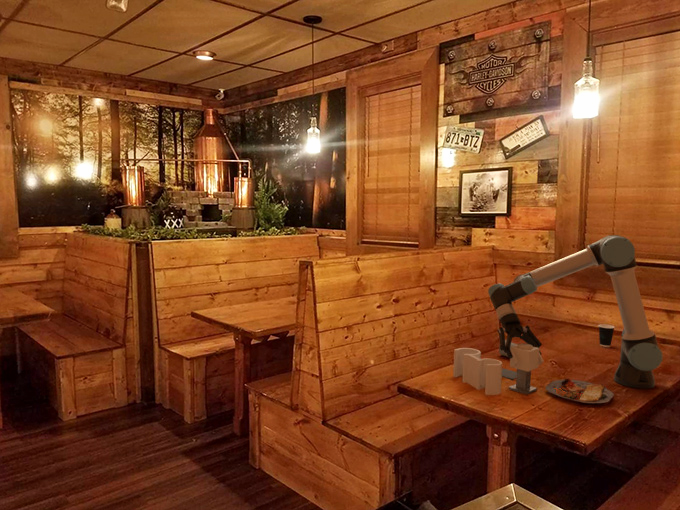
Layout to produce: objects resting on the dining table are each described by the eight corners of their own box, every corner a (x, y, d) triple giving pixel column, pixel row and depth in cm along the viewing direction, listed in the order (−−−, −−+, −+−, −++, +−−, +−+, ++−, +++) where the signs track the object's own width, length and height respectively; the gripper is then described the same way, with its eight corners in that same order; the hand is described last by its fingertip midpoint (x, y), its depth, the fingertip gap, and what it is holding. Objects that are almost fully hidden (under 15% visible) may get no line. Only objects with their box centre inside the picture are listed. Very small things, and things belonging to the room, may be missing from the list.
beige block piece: (538, 367, 209) (539, 345, 208) (528, 371, 204) (529, 349, 203) (519, 362, 215) (521, 341, 214) (509, 366, 210) (510, 344, 209)
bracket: (506, 393, 206) (508, 363, 205) (486, 396, 203) (487, 365, 201) (470, 373, 229) (471, 347, 228) (451, 375, 226) (452, 348, 225)
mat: (524, 375, 229) (524, 374, 229) (512, 379, 222) (512, 378, 222) (503, 369, 236) (503, 368, 236) (491, 373, 230) (491, 372, 230)
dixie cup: (596, 346, 279) (598, 326, 278) (597, 343, 286) (598, 323, 285) (613, 348, 276) (614, 328, 275) (613, 345, 283) (614, 325, 282)
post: (537, 390, 210) (538, 363, 209) (527, 394, 205) (528, 367, 204) (518, 385, 216) (520, 359, 215) (508, 389, 211) (510, 362, 209)
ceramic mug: (511, 360, 251) (512, 344, 250) (497, 356, 257) (498, 340, 257) (525, 357, 256) (526, 342, 256) (511, 353, 263) (512, 338, 262)
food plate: (558, 379, 223) (559, 371, 223) (618, 393, 209) (619, 385, 208) (538, 397, 204) (539, 388, 204) (603, 413, 190) (604, 404, 189)
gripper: (527, 320, 226) (549, 366, 212) (480, 323, 220) (498, 370, 206) (536, 311, 220) (558, 357, 207) (487, 313, 214) (507, 361, 201)
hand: (528, 364), depth 206 cm, fingers closed on beige block piece, 11 cm apart
